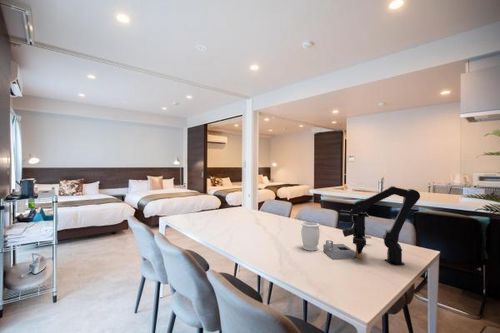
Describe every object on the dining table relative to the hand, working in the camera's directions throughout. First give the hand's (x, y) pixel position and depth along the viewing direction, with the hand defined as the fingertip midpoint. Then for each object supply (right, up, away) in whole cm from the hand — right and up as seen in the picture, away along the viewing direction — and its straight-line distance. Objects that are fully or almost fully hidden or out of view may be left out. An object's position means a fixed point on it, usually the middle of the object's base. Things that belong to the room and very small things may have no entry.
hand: (359, 252), depth 130 cm
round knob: (0, -2, 0) cm, 2 cm away
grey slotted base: (-10, -2, +3) cm, 11 cm away
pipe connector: (+12, -3, +21) cm, 25 cm away
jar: (-23, -2, +13) cm, 27 cm away
